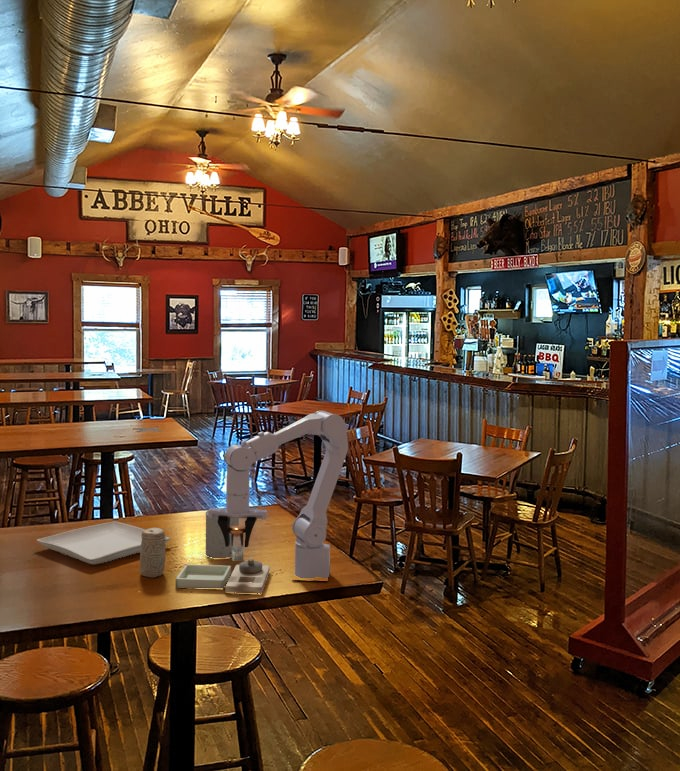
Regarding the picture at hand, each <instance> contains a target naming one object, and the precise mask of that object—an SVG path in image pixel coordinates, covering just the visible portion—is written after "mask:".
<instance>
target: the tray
mask: <svg viewBox="0 0 680 771" xmlns="http://www.w3.org/2000/svg"><path fill="white" fill-rule="evenodd" d="M230 574H232V565H224V564H223V565H222V564H221V565H218V564H217V565H215V564H189V563H188V564H187V563H186V564H185V565H184V566H183V568H182V569H181V571H180V572H179V573H178V574H177V576H176V578H175V589H176V588H192V589H191V590H194V589H193V588H224V586H225V584H226V582H227V580H228V578H229V576H230ZM224 589H225V588H224Z"/></svg>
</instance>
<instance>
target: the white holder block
mask: <svg viewBox="0 0 680 771" xmlns="http://www.w3.org/2000/svg"><path fill="white" fill-rule="evenodd" d="M269 571H271V565H267V564H265V565H263V563H262V562H260V561H256V560H254V559H253V558H252V559H251V558H250V559H247V560H246V561H242V562H240V563H239V564H236V565H235V566H234V569H233V570H232V571H231V576H230V578H229V580H228V582H227V584H226V586H225V588H224V590H225V591H224V592H234V593H235V592H236V593H257V594H258V593H260V594H261V593H262V591H263V592H264V590H263V588H264V589H265V587H264V585H265V582H266V579H267V577H268V578H269V576H268V574H269ZM269 575H270V574H269ZM267 580H268V579H267ZM248 582H252V583H248ZM266 583H267V582H266ZM265 586H266V585H265ZM262 594H263V593H262Z"/></svg>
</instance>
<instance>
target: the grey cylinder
mask: <svg viewBox="0 0 680 771" xmlns="http://www.w3.org/2000/svg"><path fill="white" fill-rule="evenodd" d="M217 521H218V517H213V518H208V510H207V511H205V554H206V555H207V556H209V557H212V558H226V557H232V546H231V533H230V544H229V546H228V547H226V546H225V540H224V536H223V533H222V531H221V529H220V527H219V525H218V522H217ZM239 524H240V518H230V527H232V526H240V525H239Z"/></svg>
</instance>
